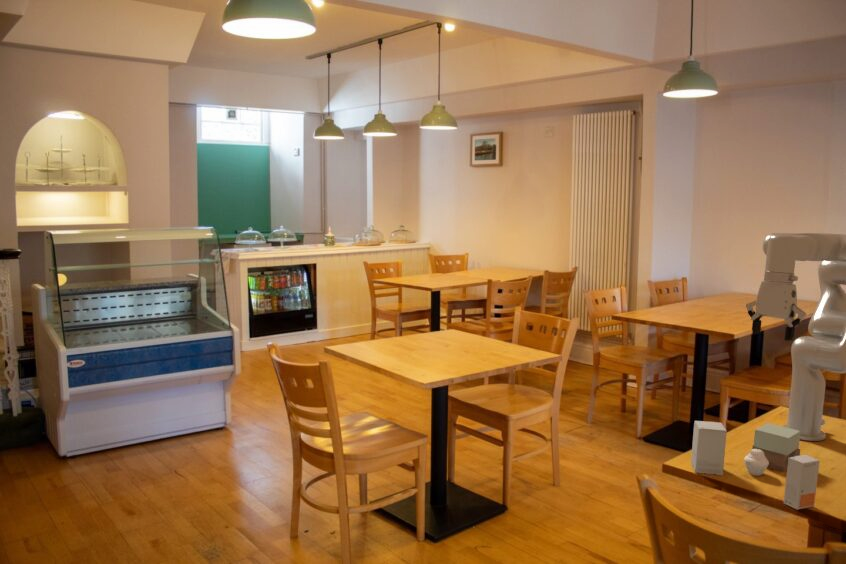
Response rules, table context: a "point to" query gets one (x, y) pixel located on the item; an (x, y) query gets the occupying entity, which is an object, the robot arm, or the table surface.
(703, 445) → the supplement box
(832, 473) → the table surface
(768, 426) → the top block
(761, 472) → the muffin
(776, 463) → the bottom block
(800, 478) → the skincare box
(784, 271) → the robot arm
